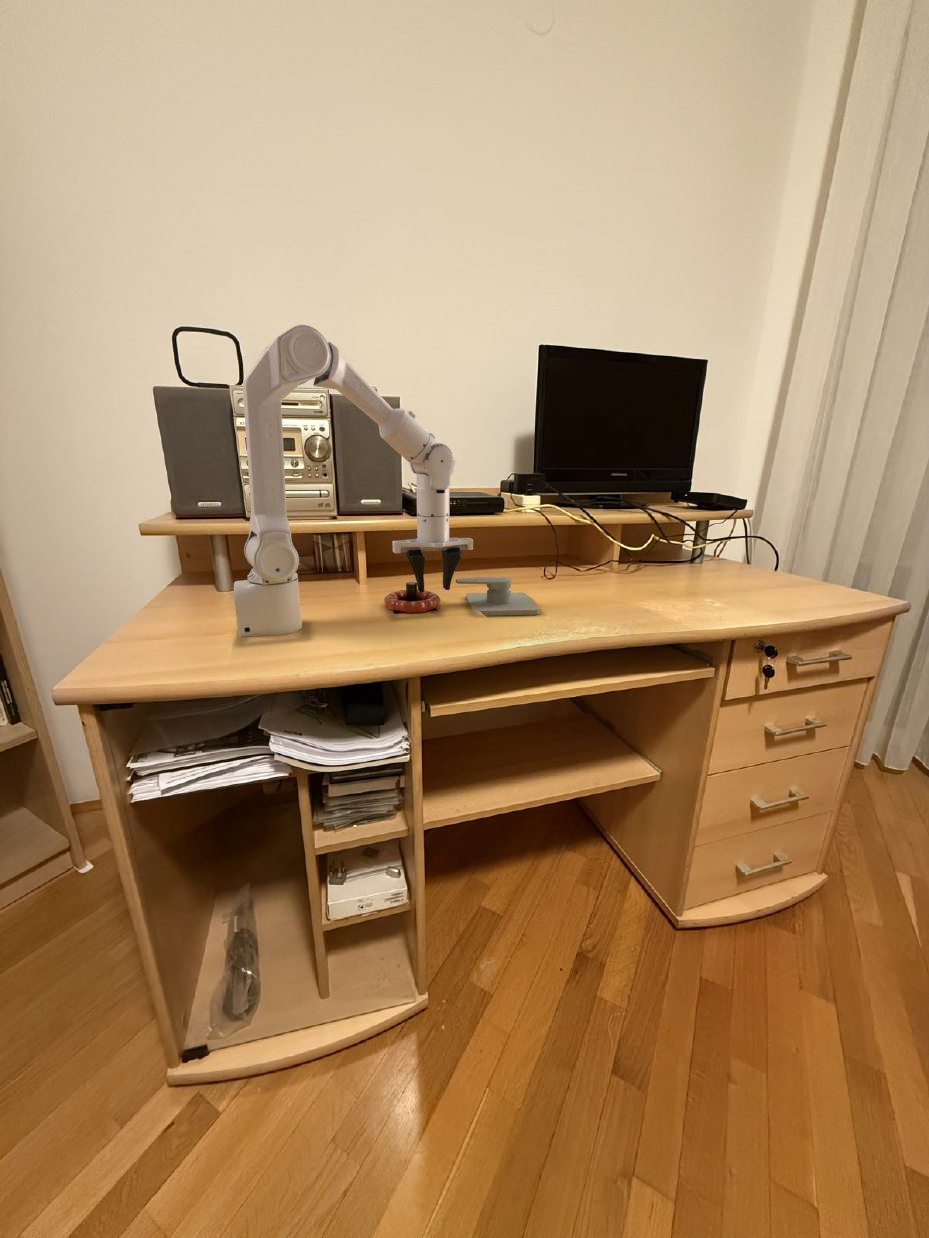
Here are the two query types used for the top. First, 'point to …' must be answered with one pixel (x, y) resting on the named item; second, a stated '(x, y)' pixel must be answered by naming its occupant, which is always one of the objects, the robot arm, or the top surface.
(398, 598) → the ring
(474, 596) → the shower valve
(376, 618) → the top surface
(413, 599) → the peg stand
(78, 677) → the top surface
